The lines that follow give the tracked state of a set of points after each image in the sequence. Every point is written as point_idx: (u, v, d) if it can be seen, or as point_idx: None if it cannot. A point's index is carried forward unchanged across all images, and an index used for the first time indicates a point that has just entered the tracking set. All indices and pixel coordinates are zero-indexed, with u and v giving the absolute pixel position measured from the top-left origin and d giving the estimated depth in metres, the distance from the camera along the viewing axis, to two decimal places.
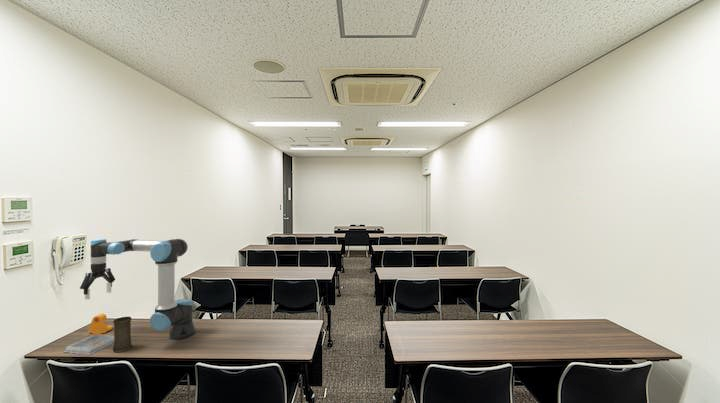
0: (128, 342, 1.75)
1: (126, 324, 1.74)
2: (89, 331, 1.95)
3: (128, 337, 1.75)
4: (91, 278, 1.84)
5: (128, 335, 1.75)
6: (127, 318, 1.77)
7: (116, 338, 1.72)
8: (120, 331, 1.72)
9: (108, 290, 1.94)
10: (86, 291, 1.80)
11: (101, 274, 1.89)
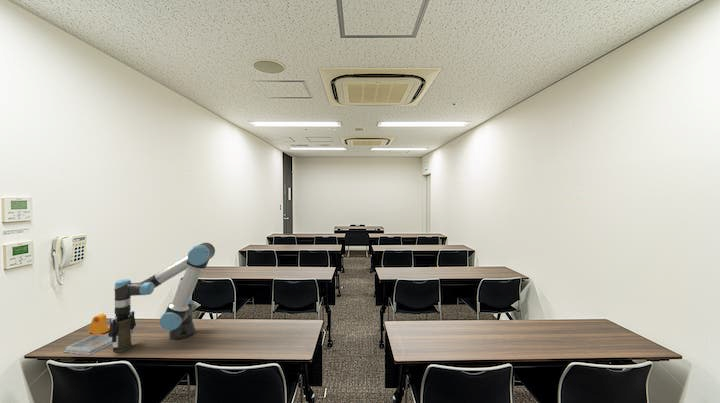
0: (128, 342, 1.75)
1: (126, 324, 1.74)
2: (89, 331, 1.95)
3: (128, 337, 1.75)
4: None
5: (128, 335, 1.75)
6: (127, 318, 1.77)
7: None
8: (120, 331, 1.72)
9: None
10: (114, 339, 1.70)
11: (125, 317, 1.76)
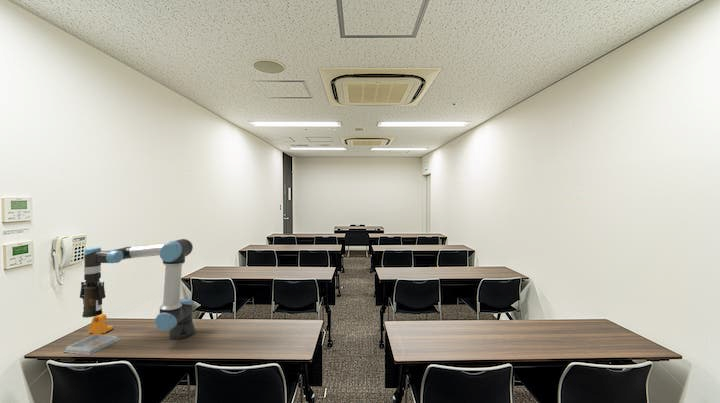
0: (86, 310, 1.75)
1: (85, 291, 1.75)
2: (89, 331, 1.95)
3: (86, 305, 1.75)
4: None
5: (86, 303, 1.75)
6: (91, 286, 1.76)
7: None
8: None
9: None
10: (83, 301, 1.78)
11: (91, 285, 1.77)
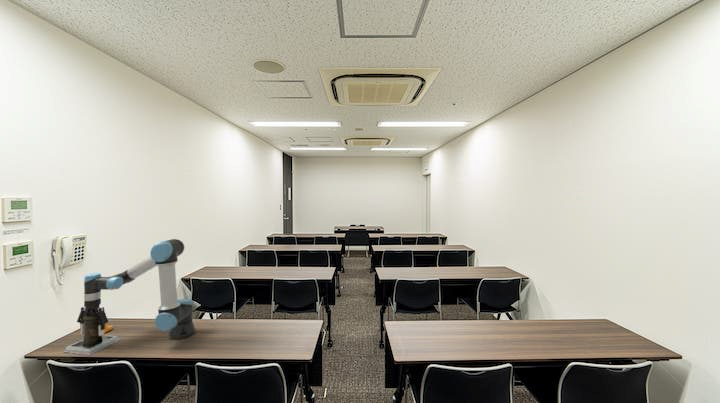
0: (86, 341, 1.74)
1: (85, 322, 1.75)
2: None
3: (86, 336, 1.74)
4: None
5: (86, 334, 1.74)
6: (91, 317, 1.76)
7: None
8: None
9: None
10: None
11: None
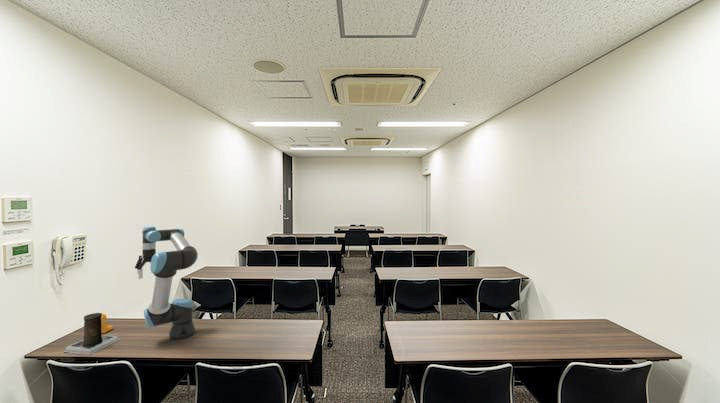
0: (86, 341, 1.75)
1: (85, 321, 1.75)
2: None
3: (86, 335, 1.75)
4: None
5: (86, 334, 1.75)
6: (91, 316, 1.76)
7: None
8: None
9: None
10: (138, 271, 2.04)
11: None
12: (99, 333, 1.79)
